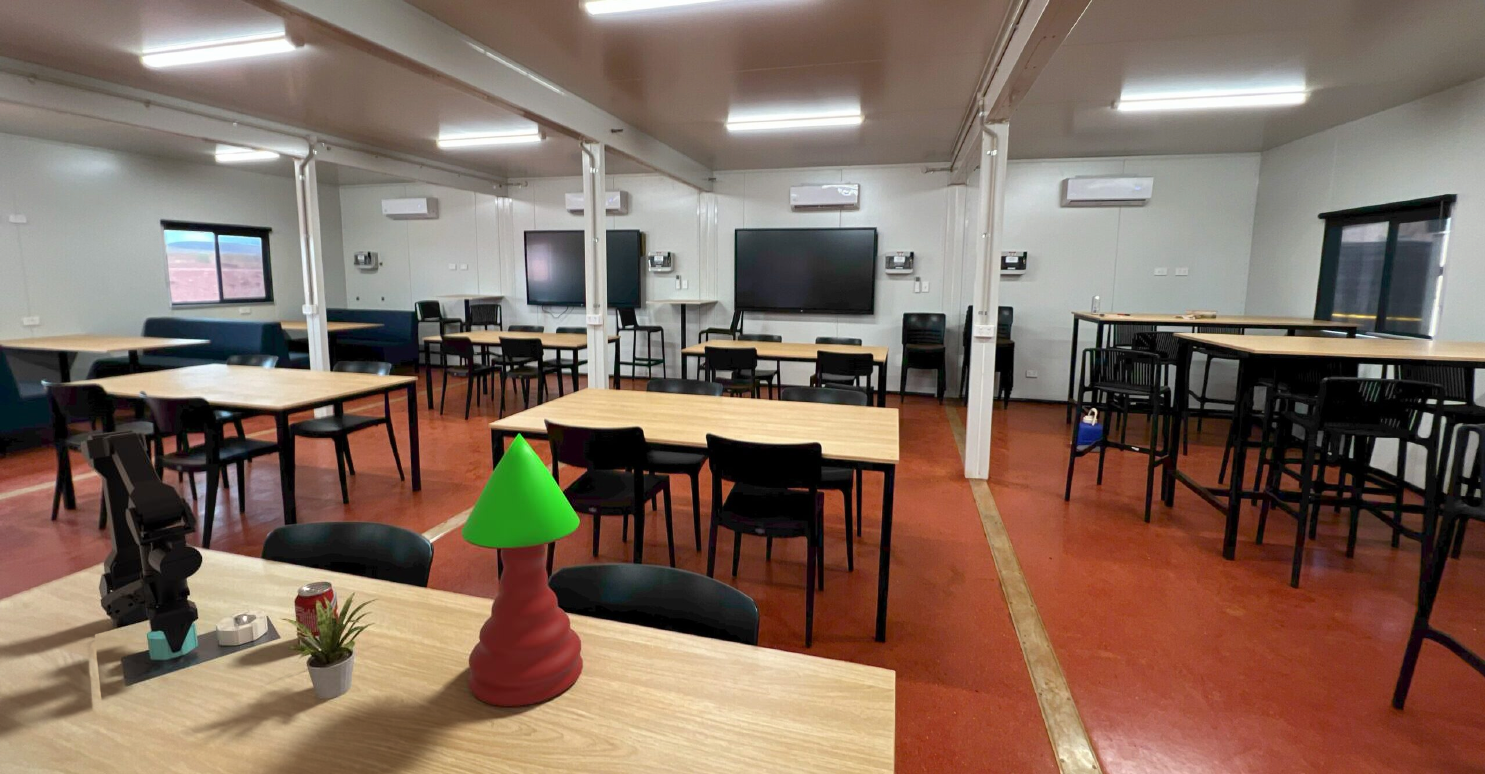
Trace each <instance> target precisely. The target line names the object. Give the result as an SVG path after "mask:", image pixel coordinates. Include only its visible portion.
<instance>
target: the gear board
mask: <svg viewBox="0 0 1485 774" xmlns="http://www.w3.org/2000/svg"><path fill="white" fill-rule="evenodd" d="M266 618H267V628H268V630H267V632H266V633H264V634H263V635H262V636H260V637H259V638H258V639H256V640H253V641H250V642H246V643H243V644H240V645H235V646H234V645H219V641H218V640H217V632H216V629H215V630H212V631H208V632H205V633H202V634H201V633H200V634H198V635H197V641H198V645H197V647H195V648H194V649H192V650H191V651H189V652H188V653H186V654H184V655H180V656H177V657H174V658H170V659H166V660H152V659H150V655H149V649H146V650H142V651H139V652H135V653H132V654H129V655H125V656H122V657H120V658H121V666H122V671H123V677H124V682H125V687H129V686H132V685H135V684H138V683H142V682H146V681H149V680H151V679H155V678H157V677H161V676H164V675H168V674H171V673H175V672H177V671H180V670H184V669H187V668H191V667H193V666H194V667H195V666H197V665H200V664H202V663H207V662H209V661H212V660H216V659H219V658H223V657H225V656H228V655H231V654H235V653H237V652H241V651H245V650H248V649H251V648H254V647H257V646H260V645H263V644H268V643H270V642H274V641H277V640H280V639H282V637H281V636H280V634H279V632H278V630H277V629H276V627H275V626H274V624H273V622H272V621H271V619H270V617H269V616H268V615H266ZM246 624H248V616H247V614H241V615H238V616H236V617H235V627H239V626H242V625H246Z"/></svg>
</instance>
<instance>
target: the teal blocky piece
mask: <svg viewBox="0 0 1485 774" xmlns="http://www.w3.org/2000/svg"><path fill="white" fill-rule="evenodd" d="M146 636H147V637H146V638H147V646H148V650H149V655H150V659H152V660H166V659H170V658H174V657H177V656H180V655H184V654H186V653H188V652H189V651H191V650H192V649H194V648H195V647H197V645H198V641H197V636H198V635H197V626H196V624H195V621H193V623H192V625H191V627H190V630H189V632H188V634H187V636H186V639H185V641H184V643H183V646H182V648H181V650H180V651H179V652H176V653H172V651H171V649H170V646H169V644H168V642H167V640H166V637H165V635H164V633H163V632H162V631H157V632H151V630H150V631H148V632H147V633H146Z"/></svg>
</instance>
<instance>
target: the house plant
mask: <svg viewBox="0 0 1485 774" xmlns="http://www.w3.org/2000/svg"><path fill="white" fill-rule="evenodd" d="M355 594H356V592H353V593H352V594H350V596H349V597H348V598H347V599H346V600H345V602H344V604H343V606H342V609H341V611H340V612H339V614H338V622H337V620H336V616H335V617H334V612H333V610H334V609H335V608H336V607H335V608H334V609H333V608H332V606H331V604H330V603H329V601H328V600H327V599H326V598H325V596H324V599H325V602H326V605H327V609H328V614H327V611H326V610H325V609H324V607H323V606H322V604H321V602H320V601H318V600H317V601H316V612H317V622H318V629H319V638H320V641H321V642H320V641H319V640H318V639H317V638H316V637H315V636H314V635H313V634H312V633H311V631H310V630H309V629H307V628H306V627H305V626H304V625H302V624H301V623H299V622H296V620H292V619H291V618H279V619H280V620H282V621H286V622H288V623H290V624H291V625H294V626H295V627H296V628H297V627H298V628H299V629H300V630H301V631H303V632H304V633H305V634H304V633H302V632H300V631H297V630H295V632H296V636H297V638H298V637H299V638H300V640H301V642H302V643H303V644H304V645H306V646H304V645H298V644H295V645H293V646H290V647H289V649H291V650H295V651H298V652H299V651H300V652H301V654H300V656H299V658H298V660H300V659H301V658H303V657H306V656H309V655H310V656H309V657H308V658H307V660H306V662H305V663H306V664H305V665H306V668H307V670H308V674H309V677H310V680H311V683H312V687H313V690H314V693H315V697H317V698H318V699H322V700H329V699H335V698H338V697H340V696H342V695H344V694H346V693H347V692H348V691H349V690H351V687H352V683H353V682H352V681H353V673H354V664H355V654H356V653H355V652H356V651H355V649H354V646H355V645H356V642H355V641H354V640H355V639H356V637H357V636H358V635H360V633H361V632H363V631H364V630H366V629H367V628H368V627H369V626H372V625H374V624H376V622H372V623H368V624H366V625H360V626H355V627H354V625H356V623H359V620H361V619H362V618H363V617H364V616H366V615H369V614H371V613H373V611H370V612H365V613H362V614H361V615H359V616H358V617H357V618H356V619H353V617H354V616H355V615H356V614H357V613H358V612H359V611H360V610H361V609H362V608H364V607H365V606H366V605H368V604H370V603H372V602H375V601H377V600H378V598H376V599H372V600H371V599H370V600H368V601H366V602H363V603H362V604H359V605H358V606H357V607H356V608H355V609H354V610H353V611H352V612H351V613H350V615H349V616H348V617H347V614H348V612H349V609H350V608H351V606H352V603H353V601H354V600H353V598H354V597H355ZM346 617H347V620H346V621H345V619H346ZM344 622H345V623H344ZM349 623H351V625H350V627H349V629H348V630H347V632H346V633H345V634H344V635H343V633H344V631H345V630H346V628H347V626H348V624H349ZM356 631H357V632H356ZM297 632H298V633H302V634H304V635H305V636H307V637H309V638H310V639H311V640H312V641H313V642H314V643H315V644H316V645H317V646H318V647H319V648H320V649H318V648H316V647H315V646H314V645H313V644H311V643H310V642H309V641H307V640H306V639H305V638H304V637H303V636H301V635H299V634H297ZM354 632H356V633H355V634H354V635H353V636H352V638H351V639H350V640H349V641H347V643H344V642H345V641H346V639H348V637H350V635H352V634H353V633H354ZM342 635H343V636H342ZM341 636H342V637H341Z"/></svg>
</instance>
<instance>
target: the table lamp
mask: <svg viewBox="0 0 1485 774" xmlns="http://www.w3.org/2000/svg"><path fill="white" fill-rule="evenodd" d="M580 522H581V521H580V518H579V516H578V514H577V512H576V511H575V510H574V508H573V507H572V505H571V504H570V502H569V500H568V499H567V497H566V496H565V494H564V493H563V491H562V489H561V488H560V486H559V485H558V483H557V481H556V480H555V478H554V476H553V475H552V473H551V472H550V471H549V470H548V467H546V466H545V464H544V462H543V461H542V460H541V459H540V457H539V455H538V454H536V452H535V451H534V450H533V448H532V447H531V446H530V444H529V443H528V442H527V440H526V439H525V438H524V437H523V436H522V435H521V433H518V434H517V435H516V436H515V438H514V439H513V441H512V443H511V444H510V445H509V447H508V448H507V450H506V451H505V453H504V454H503V456H502V457H501V459H500V460H499V462H498V463H497V465H496V467H495V468H494V470H493V471H492V473H491V474H490V476H489V479H488V480H487V481H486V483H485V486H484V488H483V489H482V491H481V493H480V495H479V497H478V499H477V500H476V501H475V504H474V505H473V508H472V509H471V512H470V513H469V516H467V519H466V521H465V523H464V525H463V527H462V529H461V531H460V532H461V536H462V538H463V539H464V540H465V541H466V542H468V543H469V544H471V545H472V546H476V547H480V548H485V549H490V550H491V549H492V550H500V560H501V562H502V567H503V569H502V573H501V575H500V579H499V587H500V591H499V593H498V595H497V596H496V597H495V599H494V600H493V602H492V605H491V610H490V611H491V616H489V618H487V620H486V621H484V623H483V625H482V626H481V628H480V630H479V635H478V638H479V641H478V643H476V644H475V646H474V647H473V649H472V651H471V652H470V654H469V658H468V667H469V671H470V674H469V676H468V681H467V684H468V689H469V690H470V692H471V694H473V695H474V696H475V697H476V698H477V699H479V700H481V701H483V702H485V703H487V704H491V705H493V706H499V707H519V706H520V707H521V706H528V705H533V704H537V703H542V702H544V701H547V700H549V699H552V698H553V697H556V696H557V695H559V694H561V693H563V692H564V691H565V690H567V689H568V688H570V687H571V686H572V685H573V684H574V683H575V682H576V681H578V678H579V677H580V676H581V673H582V671H583V668H584V660H583V657H582V656H581V652H582V641H581V638H580V636H579V635H578V633H577V632H575V630H574V629H573V628H571V620H570V618H569V617H570V616H569V615H568V614H567V613H566V612H565V610H563V609H562V608H561V607H559V604H558V596H557V595H556V593H555V592H554V590H552V589H551V588H550V586H549V584H548V578H549V577H548V571H547V569H546V568H545V565H544V560H545V557H546V546H545V545H548V544H551V543H555V542H557V541H560V540H562V539H565V538H567V537H569V536H570V535H571V534H573V533H574V532H575V531H576V530H577V529H578V528H579V525H580Z"/></svg>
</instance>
